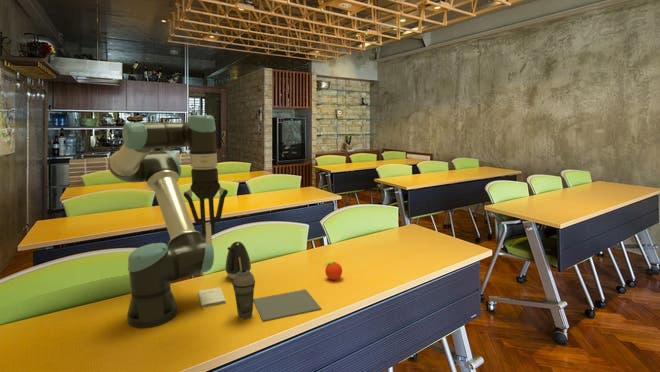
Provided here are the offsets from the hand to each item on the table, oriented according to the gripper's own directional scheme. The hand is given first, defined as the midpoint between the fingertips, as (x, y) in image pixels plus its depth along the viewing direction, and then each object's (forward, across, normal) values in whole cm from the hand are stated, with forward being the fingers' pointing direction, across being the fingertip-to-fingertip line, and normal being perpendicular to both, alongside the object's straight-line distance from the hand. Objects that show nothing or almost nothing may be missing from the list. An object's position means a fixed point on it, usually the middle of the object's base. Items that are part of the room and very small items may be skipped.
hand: (209, 243), depth 115 cm
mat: (+26, +24, +2) cm, 36 cm away
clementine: (+26, +48, +16) cm, 57 cm away
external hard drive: (+27, +1, +18) cm, 32 cm away
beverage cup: (+26, +10, 0) cm, 28 cm away
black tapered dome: (+26, +13, +33) cm, 44 cm away
